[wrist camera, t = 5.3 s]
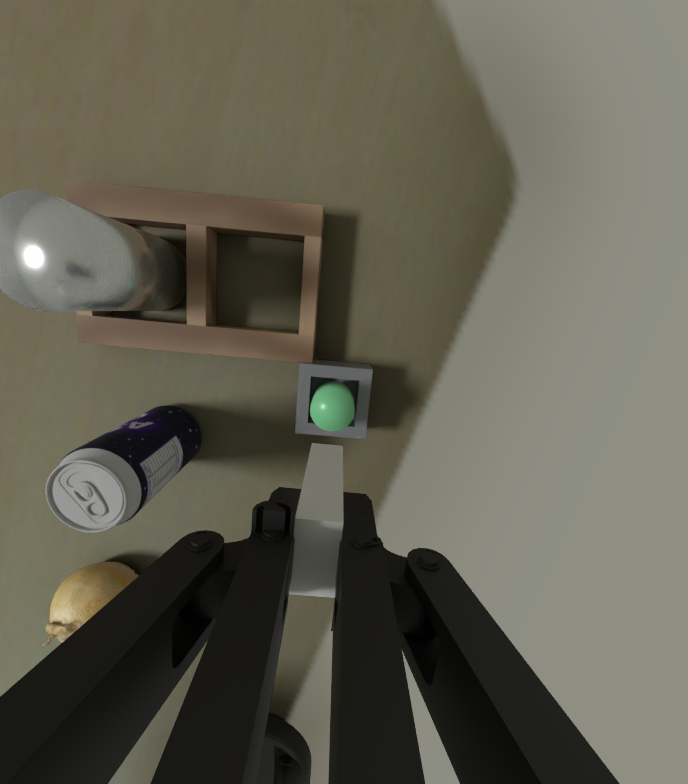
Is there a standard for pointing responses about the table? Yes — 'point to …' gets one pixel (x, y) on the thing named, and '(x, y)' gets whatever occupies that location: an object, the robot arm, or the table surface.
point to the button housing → (344, 372)
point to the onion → (85, 596)
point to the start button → (332, 406)
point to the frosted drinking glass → (83, 259)
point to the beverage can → (122, 469)
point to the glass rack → (207, 269)
